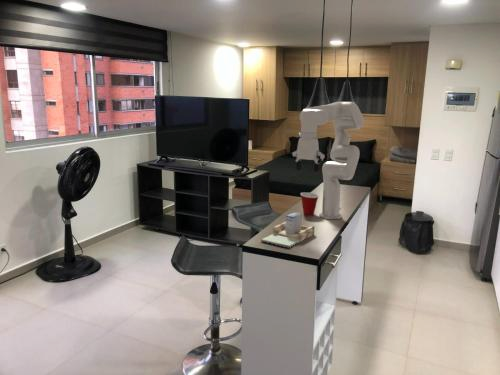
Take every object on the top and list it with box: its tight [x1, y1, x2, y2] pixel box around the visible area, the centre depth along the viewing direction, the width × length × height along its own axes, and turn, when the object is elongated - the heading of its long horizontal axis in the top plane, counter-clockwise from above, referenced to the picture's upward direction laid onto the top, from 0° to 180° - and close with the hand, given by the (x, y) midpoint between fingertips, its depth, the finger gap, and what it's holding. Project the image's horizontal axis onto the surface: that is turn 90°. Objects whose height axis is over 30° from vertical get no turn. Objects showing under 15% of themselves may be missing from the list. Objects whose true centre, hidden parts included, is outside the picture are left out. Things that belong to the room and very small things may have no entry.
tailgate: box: [260, 233, 301, 249], centre depth 189 cm, size 1×15×11 cm
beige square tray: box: [272, 221, 316, 243], centre depth 198 cm, size 14×15×4 cm
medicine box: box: [285, 212, 303, 234], centre depth 197 cm, size 8×4×9 cm, turn 144°
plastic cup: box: [300, 192, 320, 216], centre depth 235 cm, size 11×11×12 cm
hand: (307, 170), depth 202 cm, fingers open, 9 cm apart
